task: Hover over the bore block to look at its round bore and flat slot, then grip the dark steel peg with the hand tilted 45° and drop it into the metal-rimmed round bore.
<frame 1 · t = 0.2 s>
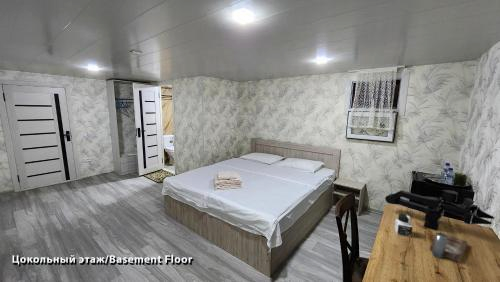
hand: (492, 220, 116), 17 cm above the table, tool horizontal, fingers open, 9 cm apart
bore block: (448, 247, 118), on the table
steel peg: (438, 255, 111), on the table
medicine bottle: (402, 233, 132), on the table
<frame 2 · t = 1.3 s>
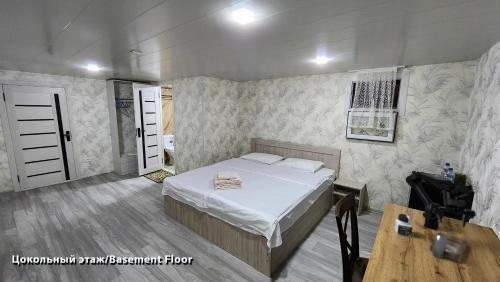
hand: (452, 224, 116), 14 cm above the table, tool tilted 45°, fingers open, 9 cm apart
nothing on the table moved.
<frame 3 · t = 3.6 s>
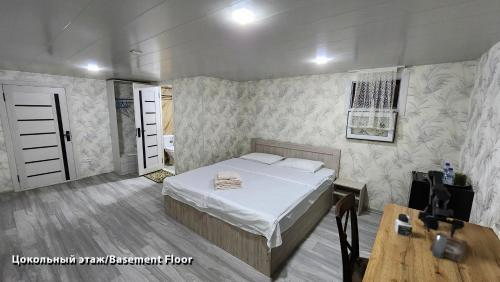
hand: (440, 234, 113), 10 cm above the table, tool tilted 45°, fingers open, 9 cm apart
nothing on the table moved.
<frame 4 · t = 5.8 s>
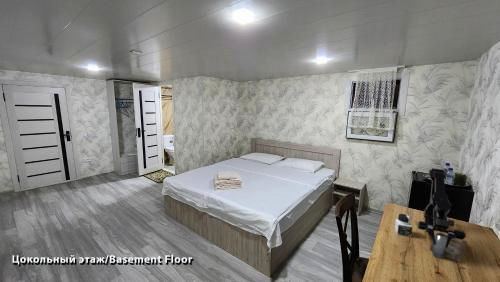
hand: (440, 245, 109), 7 cm above the table, tool tilted 45°, fingers closed on steel peg, 4 cm apart
steel peg: (438, 255, 111), on the table, touching gripper
everything else where it was.
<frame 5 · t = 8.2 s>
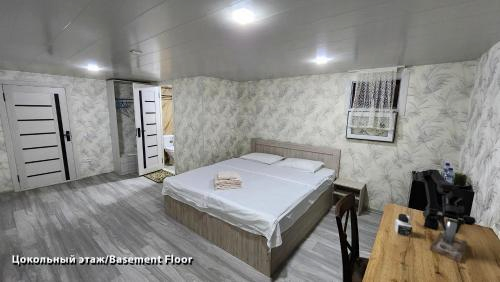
hand: (450, 231, 111), 13 cm above the table, tool tilted 45°, fingers closed on steel peg, 4 cm apart
steel peg: (448, 241, 113), point 6 cm above the table, touching gripper
everything else where it was.
when the fingers open (8 cm above the table, at t = 10.6 s): steel peg drops 1 cm, resting in bore block.
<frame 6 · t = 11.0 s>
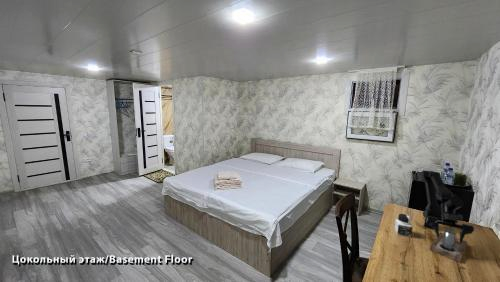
hand: (449, 239, 112), 8 cm above the table, tool tilted 45°, fingers open, 9 cm apart
steel peg: (446, 252, 114), resting in bore block
everything else where it was.
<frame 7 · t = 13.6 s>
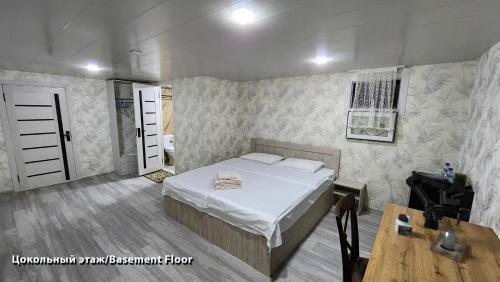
hand: (446, 223, 119), 13 cm above the table, tool tilted 45°, fingers open, 9 cm apart
nothing on the table moved.
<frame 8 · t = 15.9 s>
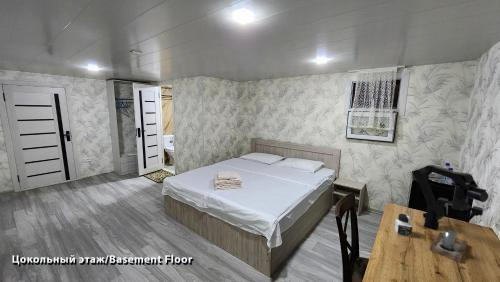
hand: (456, 219, 124), 13 cm above the table, tool pointing down, fingers open, 9 cm apart
nothing on the table moved.
at the end: steel peg 0.2 cm from the target spot on the bore block, point 0.0 cm above the bore block's base; steel peg tilted 0°; the gripper is holding nothing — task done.
